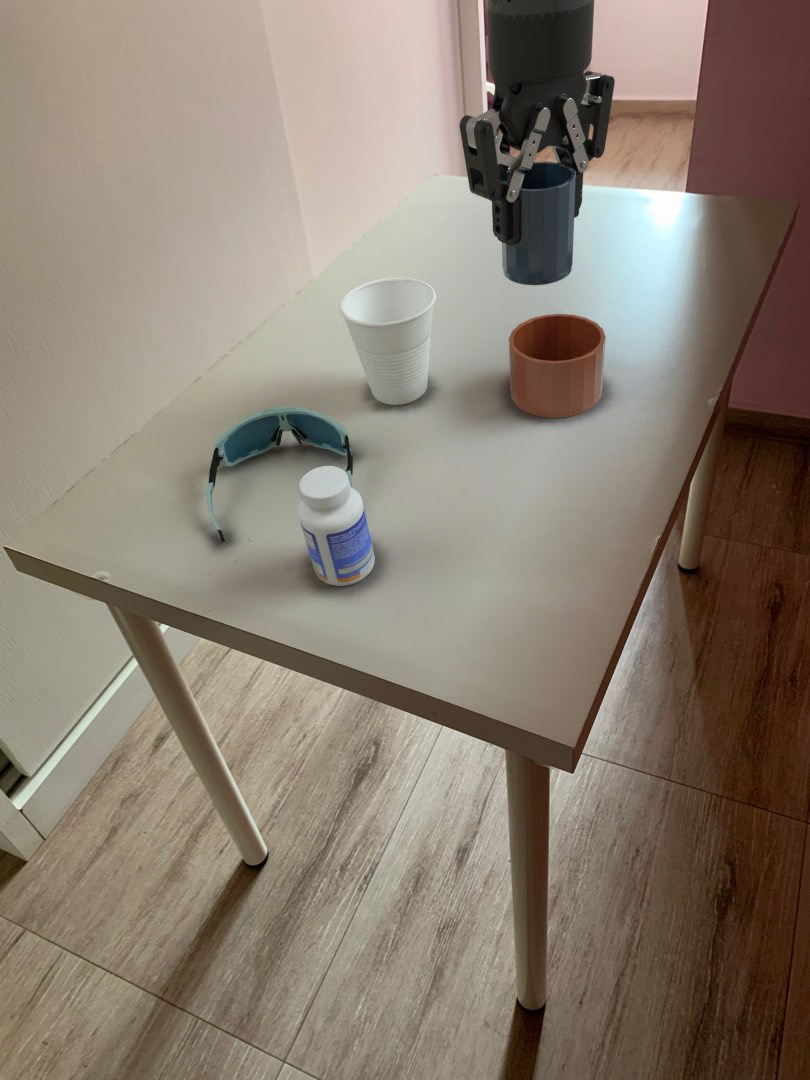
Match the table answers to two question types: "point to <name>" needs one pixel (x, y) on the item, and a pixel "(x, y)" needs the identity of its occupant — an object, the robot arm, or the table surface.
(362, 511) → the pill bottle
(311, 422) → the sunglasses
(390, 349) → the cup
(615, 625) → the table surface
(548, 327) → the terracotta cup
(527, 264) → the slate cup
